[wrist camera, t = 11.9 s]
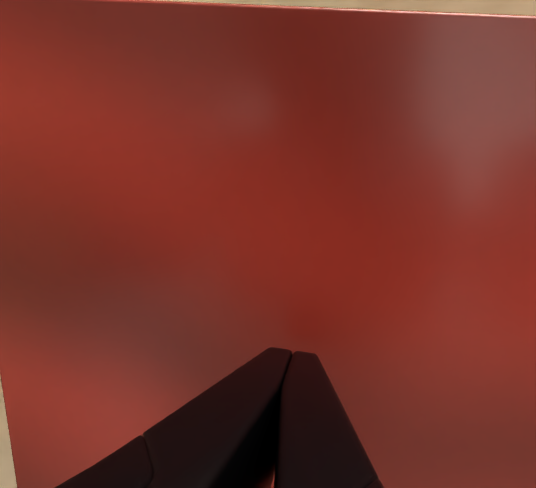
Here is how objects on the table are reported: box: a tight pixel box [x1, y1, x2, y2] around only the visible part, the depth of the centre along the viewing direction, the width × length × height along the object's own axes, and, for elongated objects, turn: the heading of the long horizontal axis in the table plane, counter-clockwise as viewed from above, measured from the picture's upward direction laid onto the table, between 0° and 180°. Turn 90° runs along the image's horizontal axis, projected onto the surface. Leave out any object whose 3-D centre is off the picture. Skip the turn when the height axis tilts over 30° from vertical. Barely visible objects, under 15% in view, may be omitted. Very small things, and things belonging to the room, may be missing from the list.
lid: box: [0, 0, 536, 488], centre depth 10 cm, size 13×14×1 cm
